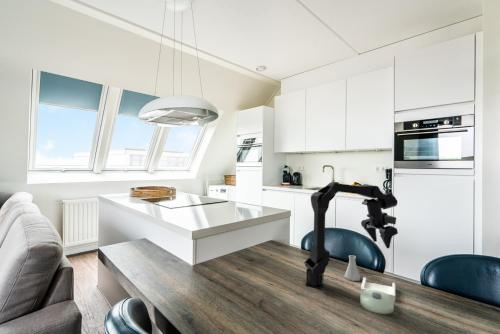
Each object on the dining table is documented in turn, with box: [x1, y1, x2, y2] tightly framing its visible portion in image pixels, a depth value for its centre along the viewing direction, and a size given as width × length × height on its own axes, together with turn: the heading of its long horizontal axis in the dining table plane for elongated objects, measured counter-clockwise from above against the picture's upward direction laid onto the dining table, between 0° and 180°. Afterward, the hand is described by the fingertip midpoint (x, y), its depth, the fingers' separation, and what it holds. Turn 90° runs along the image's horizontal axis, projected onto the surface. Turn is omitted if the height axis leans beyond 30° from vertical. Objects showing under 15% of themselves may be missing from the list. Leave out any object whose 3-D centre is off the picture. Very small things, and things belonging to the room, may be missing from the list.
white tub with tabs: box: [359, 276, 396, 315], centre depth 100 cm, size 12×23×4 cm, turn 151°
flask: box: [343, 254, 361, 282], centre depth 117 cm, size 7×7×10 cm
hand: (381, 244), depth 118 cm, fingers open, 9 cm apart
